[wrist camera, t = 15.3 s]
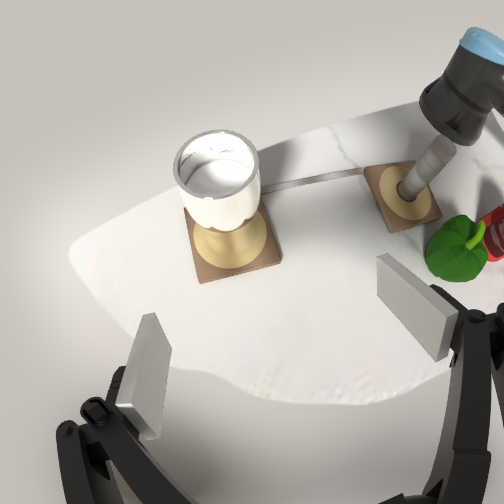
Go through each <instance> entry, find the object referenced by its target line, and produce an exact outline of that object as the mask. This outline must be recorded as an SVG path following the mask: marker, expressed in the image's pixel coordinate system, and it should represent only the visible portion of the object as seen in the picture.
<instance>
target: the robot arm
mask: <svg viewBox="0 0 504 504" xmlns="http://www.w3.org/2000/svg"><path fill="white" fill-rule="evenodd" d="M459 43H460V44H459V46H458V48H457V50H456V52H455V54H454V55H453V57H452V59H451V60H450V62H449V64H448V66H447V68H446V69H445V71H444V73H443V74H442V76H441V77H439V78H438V79H437V80H435V81H434V82H432V83H431V84H430V85H428V86H427V87H426V88H425V89H424V91H423V92H422V94H421V96H420V99H419V102H420V106H421V109H422V111H423V113H424V115H425V116H426V118H427V119H428V120H429V121H430V123H431V124H432V125H433V126H434V127H435V128H436V129H437V130H438V131H439V132H440V133H442V134H443V135H444V136H446V137H448V138H449V139H450V140H451V141H453V142H455V143H457V144H460V145H463V146H471V145H473V144H474V143H475V142H476V141H477V140H478V139H479V137H480V135H481V132H482V129H483V126H484V123H485V120H486V117H487V114H488V113H489V112H490V111H491V109H492V108H495V109H496V110H497V111H498V112H499V113H500V114H501V115H502V116H503V117H504V41H503V40H501V39H500V38H498V37H497V36H495V35H494V34H492V33H490V32H488V31H486V30H484V29H481V28H477V27H471V28H469V29H468V30H467V31H466V33H465V35H464V36H463V38H462V39H461V40H460V41H459ZM377 296H378V297H379V298H380V299H381V300H382V301H383V303H384V304H385V305H386V306H387V307H388V308H389V309H390V310H391V311H392V312H393V314H394V315H395V316H396V317H397V318H398V319H399V320H400V321H401V323H402V324H403V325H404V326H405V327H406V328H407V329H408V331H409V332H410V333H411V334H412V335H413V336H414V337H415V339H416V340H417V341H418V342H419V343H420V344H421V346H422V347H423V348H424V349H425V350H426V351H427V353H428V354H429V355H430V356H431V357H432V359H433V360H434V361H435V362H438V361H439V360H441V359H443V358H445V357H447V356H448V352H449V349H450V348H451V349H452V350H453V351H454V354H453V357H452V360H451V363H450V366H449V367H452V369H451V379H450V387H449V394H448V401H447V407H446V413H445V418H444V424H443V429H442V433H441V438H440V442H439V446H438V450H437V454H436V458H435V461H434V465H433V469H432V472H431V475H430V477H429V480H428V482H427V484H426V485H425V487H424V490H423V492H422V495H413V496H407V497H404V495H403V494H402V493H401V494H399V495H397V496H395V497H393V498H391V499H388V500H386V501H384V502H381V503H379V504H482V501H483V497H484V493H485V489H486V484H487V479H488V474H489V469H490V463H491V453H490V452H489V451H487V443H488V435H489V426H490V413H491V373H492V377H493V381H494V384H495V388H496V392H497V397H498V401H499V405H500V410H501V415H502V420H503V426H504V303H500V304H499V305H498V307H497V311H496V313H492V314H487V315H486V314H485V313H484V312H482V311H480V310H476V309H471V310H468V309H467V308H465V307H464V306H463V305H462V304H461V303H460V302H458V301H457V300H456V299H455V298H454V297H453V298H452V296H451V295H450V294H449V293H447V292H446V291H445V290H444V289H442V288H441V287H439V286H436V285H434V284H432V285H430V286H428V285H427V284H426V283H425V282H423V281H422V280H421V279H420V278H418V277H417V276H416V275H415V274H413V273H412V272H411V271H410V270H408V269H407V268H406V267H405V266H403V265H402V264H401V263H399V262H398V261H397V260H396V259H394V258H393V257H392V256H390V255H389V254H388V253H387V254H383V255H380V256H377ZM171 351H172V348H171V346H170V344H169V342H168V340H167V338H166V336H165V333H164V331H163V329H162V327H161V325H160V323H159V321H158V318H157V316H156V314H155V313H151V314H146V315H143V317H142V319H141V322H140V325H139V328H138V331H137V334H136V337H135V340H134V343H133V346H132V349H131V352H130V355H129V359H128V362H127V365H126V366H121V367H119V368H118V369H117V370H116V372H115V373H114V375H113V378H112V381H111V382H112V383H111V384H110V389H109V390H108V393H107V397H106V400H105V401H104V400H103V399H102V398H100V397H92V398H90V399H88V400H87V401H86V402H84V403H83V405H82V406H81V410H80V414H81V416H82V417H83V418H84V419H85V420H86V421H87V424H83V425H80V426H78V425H77V424H76V423H75V422H73V421H71V420H68V421H64V422H63V423H61V424H60V425H59V426H58V428H57V430H56V441H57V451H58V458H59V466H60V472H61V478H62V484H63V489H64V494H65V498H66V502H67V504H124V502H123V499H122V497H121V494H120V491H119V489H118V486H117V483H116V480H115V478H114V474H113V471H112V468H111V465H110V462H109V460H112V462H113V463H114V465H115V466H116V468H117V469H118V471H119V472H120V474H121V475H122V477H123V478H124V479H125V481H126V482H127V484H128V485H129V486H130V487H131V489H132V490H133V492H134V493H135V494H136V496H137V497H138V498H139V499H140V501H141V502H142V503H143V504H199V503H197V502H196V501H195V500H194V499H193V498H192V497H191V496H190V495H189V494H188V493H187V492H186V491H185V490H184V489H183V488H182V487H181V486H180V485H179V484H178V483H177V482H176V481H175V480H174V479H173V478H172V477H171V476H170V475H169V474H168V473H167V472H166V471H165V470H164V469H163V467H162V466H161V465H160V464H159V463H158V462H157V461H156V460H155V458H154V457H153V456H152V455H151V454H150V453H149V451H148V450H147V449H146V448H145V447H144V446H143V444H142V443H141V442H140V441H139V440H138V439H139V433H140V434H141V435H142V436H143V437H144V438H145V439H159V438H160V433H161V425H162V416H163V408H164V400H165V392H166V385H167V377H168V370H169V364H170V357H171Z"/></svg>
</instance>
